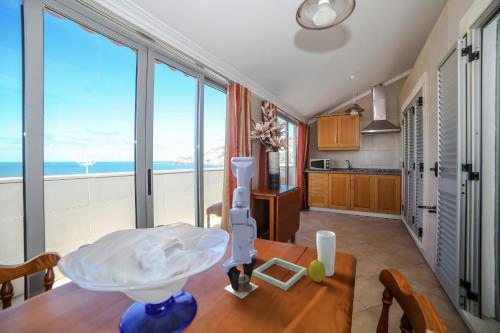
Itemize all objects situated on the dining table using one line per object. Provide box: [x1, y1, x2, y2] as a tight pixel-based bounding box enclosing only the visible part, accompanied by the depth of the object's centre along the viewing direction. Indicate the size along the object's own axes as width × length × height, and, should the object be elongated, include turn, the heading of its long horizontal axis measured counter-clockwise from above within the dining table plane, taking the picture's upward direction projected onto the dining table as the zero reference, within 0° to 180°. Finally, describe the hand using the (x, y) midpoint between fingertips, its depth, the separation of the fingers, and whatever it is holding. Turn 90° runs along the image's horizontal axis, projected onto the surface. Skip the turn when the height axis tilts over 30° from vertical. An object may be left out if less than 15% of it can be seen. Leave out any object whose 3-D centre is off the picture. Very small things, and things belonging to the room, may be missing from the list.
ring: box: [233, 273, 253, 294], centre depth 68 cm, size 7×5×3 cm
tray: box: [252, 257, 307, 291], centre depth 76 cm, size 14×14×2 cm
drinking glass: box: [315, 230, 337, 277], centre depth 78 cm, size 7×7×15 cm
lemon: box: [308, 259, 326, 283], centre depth 72 cm, size 6×6×8 cm
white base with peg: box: [223, 275, 259, 299], centre depth 68 cm, size 8×8×5 cm
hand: (241, 284), depth 68 cm, fingers closed on ring, 5 cm apart
